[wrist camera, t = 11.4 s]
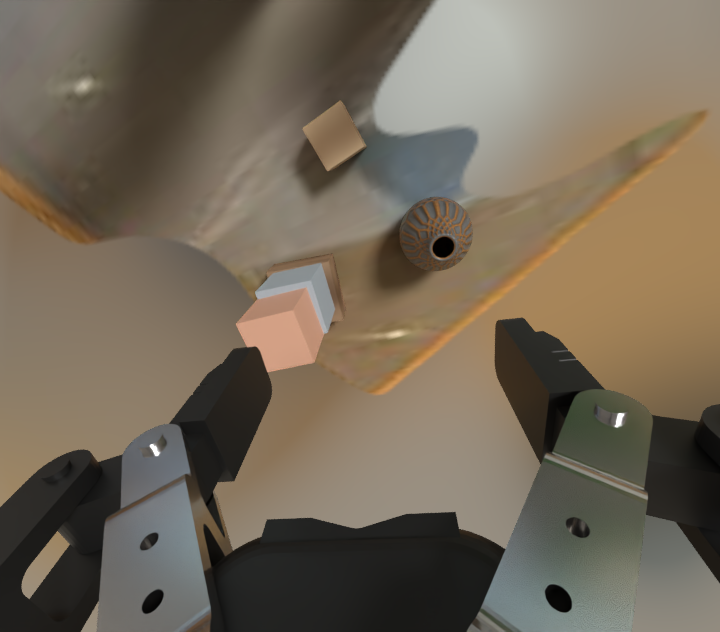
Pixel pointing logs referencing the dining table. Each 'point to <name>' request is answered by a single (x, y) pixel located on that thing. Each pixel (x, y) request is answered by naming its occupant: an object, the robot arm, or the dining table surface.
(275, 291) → the slate cube
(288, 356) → the terracotta cube
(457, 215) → the vase
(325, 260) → the walnut slab
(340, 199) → the dining table surface
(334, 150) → the maple block
